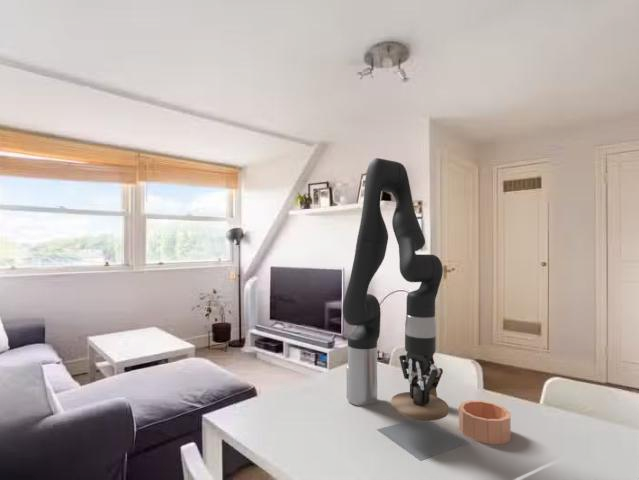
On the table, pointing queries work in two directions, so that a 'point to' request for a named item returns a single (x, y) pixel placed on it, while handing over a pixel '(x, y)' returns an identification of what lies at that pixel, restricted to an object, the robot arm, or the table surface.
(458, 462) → the table surface
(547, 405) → the table surface
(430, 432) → the mat
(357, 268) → the robot arm
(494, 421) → the bowl
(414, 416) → the lid
